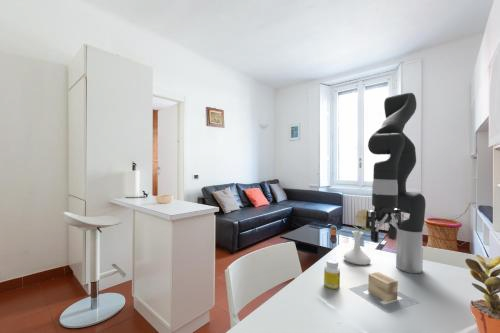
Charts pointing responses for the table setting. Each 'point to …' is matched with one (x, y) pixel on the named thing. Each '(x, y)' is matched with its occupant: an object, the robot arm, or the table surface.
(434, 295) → the table surface
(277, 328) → the table surface
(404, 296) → the letter board
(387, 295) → the oak block
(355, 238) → the flower in vase
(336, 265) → the supplement bottle
